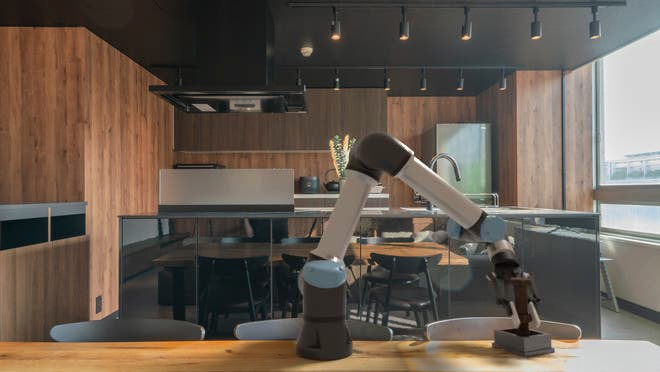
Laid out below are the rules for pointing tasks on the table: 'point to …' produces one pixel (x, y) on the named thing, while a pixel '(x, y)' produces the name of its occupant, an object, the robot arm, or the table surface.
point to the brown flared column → (521, 303)
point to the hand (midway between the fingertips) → (527, 325)
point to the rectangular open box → (523, 342)
